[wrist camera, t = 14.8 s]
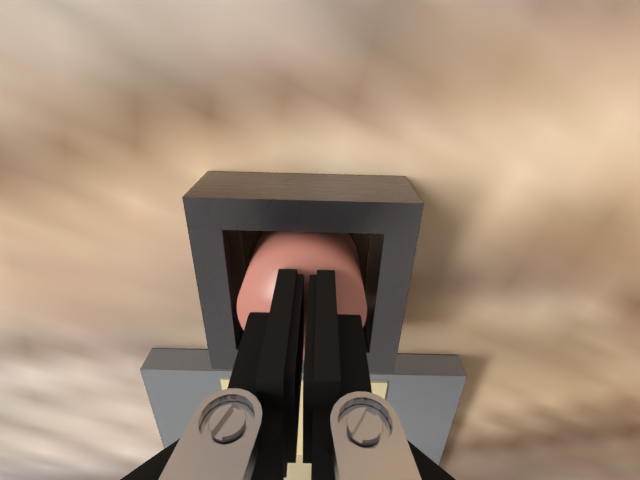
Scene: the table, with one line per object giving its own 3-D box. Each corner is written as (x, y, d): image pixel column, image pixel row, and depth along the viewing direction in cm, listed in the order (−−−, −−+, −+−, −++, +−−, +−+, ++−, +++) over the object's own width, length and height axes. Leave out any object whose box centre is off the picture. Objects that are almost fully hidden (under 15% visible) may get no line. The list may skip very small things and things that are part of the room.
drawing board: (407, 527, 23) (411, 551, 22) (200, 523, 23) (193, 548, 22) (457, 355, 16) (467, 378, 15) (152, 348, 16) (139, 371, 15)
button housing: (383, 326, 15) (393, 373, 13) (227, 323, 15) (211, 369, 13) (404, 176, 12) (424, 203, 10) (208, 171, 12) (182, 197, 10)
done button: (354, 304, 14) (361, 361, 12) (256, 302, 14) (242, 358, 12) (362, 215, 12) (373, 258, 10) (250, 212, 12) (230, 255, 10)
